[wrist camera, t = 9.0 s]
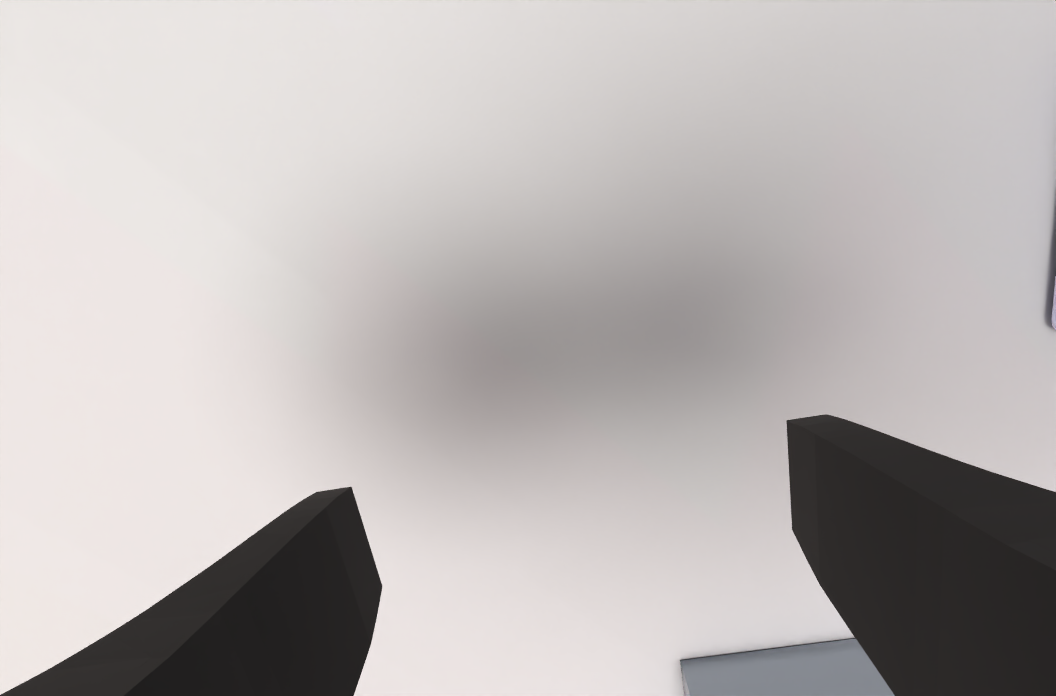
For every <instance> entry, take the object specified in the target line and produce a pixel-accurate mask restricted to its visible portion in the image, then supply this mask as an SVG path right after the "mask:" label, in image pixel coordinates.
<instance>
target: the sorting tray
mask: <svg viewBox="0 0 1056 696" xmlns="http://www.w3.org/2000/svg"><path fill="white" fill-rule="evenodd" d="M680 662H681V670H682V678H683V685H684V693H685V696H895V695H894V694H893V692H892V691H891V689H890V688H889V686H888V685H887V683H886V682H885V681H884V679H883V678H882V676H881V675H880V673H879V672H878V670H877V669H876V667H875V666H874V664H873V663H872V661H871V660H870V659H869V657H868V656H867V654H866V653H865V651H864V650H863V648H862V647H861V645H860V644H859V642H858V641H857V639H848V640H840V641H832V642H824V643H816V644H808V645H800V646H792V647H784V648H776V649H768V650H760V651H752V652H744V653H736V654H728V655H720V656H712V657H704V658H696V659H688V660H680Z"/></svg>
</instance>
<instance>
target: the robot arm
mask: <svg viewBox="0 0 1056 696" xmlns="http://www.w3.org/2000/svg"><path fill="white" fill-rule="evenodd" d="M1052 326H1053V327H1054V329H1055V330H1056V278H1055V289H1054V299H1053V310H1052ZM787 437H788V456H789V476H790V495H791V514H792V530H793V532H794V534H795V536H796V538H797V540H798V542H799V544H800V546H801V548H802V551H803V553H804V555H805V557H806V559H807V561H808V563H809V565H810V567H811V568H812V570H813V572H814V574H815V576H816V578H817V580H818V582H819V584H820V586H821V587H822V589H823V590H824V592H825V593H826V595H827V596H828V598H829V599H830V601H831V602H832V604H833V605H834V607H835V608H836V610H837V611H838V613H839V614H840V616H841V617H842V619H843V620H844V622H845V623H846V625H847V626H848V628H849V629H850V631H851V632H852V634H853V635H854V637H855V638H856V639H857V641H858V642H859V644H860V645H861V647H862V648H863V650H864V651H865V653H866V654H867V656H868V657H869V659H870V660H871V661H872V663H873V664H874V666H875V667H876V669H877V670H878V672H879V673H880V675H881V676H882V678H883V679H884V681H885V682H886V683H887V685H888V686H889V688H890V689H891V691H892V692H893V694H894V695H895V696H1056V492H1053V491H1050V490H1047V489H1043V488H1040V487H1037V486H1034V485H1031V484H1028V483H1024V482H1021V481H1018V480H1015V479H1012V478H1009V477H1005V476H1002V475H999V474H996V473H993V472H990V471H987V470H984V469H981V468H978V467H975V466H972V465H969V464H966V463H963V462H961V461H958V460H955V459H952V458H949V457H947V456H944V455H941V454H938V453H935V452H933V451H930V450H927V449H925V448H922V447H919V446H916V445H914V444H911V443H908V442H906V441H903V440H900V439H898V438H895V437H892V436H889V435H887V434H884V433H881V432H879V431H876V430H873V429H871V428H868V427H865V426H862V425H859V424H857V423H854V422H851V421H848V420H845V419H841V418H838V417H834V416H830V415H819V416H812V417H806V418H799V419H793V420H787ZM381 591H382V584H381V581H380V577H379V574H378V571H377V568H376V565H375V561H374V558H373V555H372V552H371V548H370V545H369V542H368V539H367V536H366V532H365V529H364V526H363V523H362V519H361V516H360V513H359V510H358V507H357V503H356V500H355V497H354V494H353V490H352V487H347V488H340V489H334V490H327V491H321V492H316V493H314V494H312V495H311V496H309V497H307V498H305V499H304V500H302V501H300V502H299V503H297V504H296V505H294V506H293V507H291V508H290V509H289V510H287V511H286V512H284V513H283V514H281V515H280V516H279V517H277V518H276V519H274V520H273V521H272V522H270V523H269V524H267V525H266V526H265V527H263V528H262V529H261V530H259V531H258V532H257V533H255V534H254V535H252V536H251V537H250V538H248V539H247V540H246V541H244V542H243V543H241V544H240V545H239V546H237V547H236V548H235V549H233V550H232V551H230V552H229V553H228V554H226V555H225V556H224V557H222V558H221V559H219V560H218V561H217V562H215V563H214V564H213V565H211V566H210V567H208V568H207V569H205V570H204V571H203V572H201V573H200V574H198V575H197V576H195V577H194V578H192V579H191V580H189V581H188V582H187V583H185V584H184V585H182V586H181V587H179V588H178V589H176V590H175V591H173V592H172V593H171V594H169V595H168V596H166V597H165V598H163V599H162V600H160V601H159V602H157V603H156V604H155V605H153V606H152V607H150V608H149V609H147V610H146V611H144V612H143V613H141V614H139V615H138V616H136V617H135V618H133V619H132V620H130V621H129V622H127V623H125V624H124V625H122V626H121V627H119V628H117V629H116V630H114V631H113V632H111V633H109V634H108V635H106V636H105V637H103V638H101V639H99V640H98V641H96V642H94V643H93V644H91V645H89V646H88V647H86V648H84V649H83V650H81V651H79V652H78V653H76V654H74V655H73V656H71V657H69V658H67V659H66V660H64V661H62V662H61V663H59V664H57V665H55V666H54V667H52V668H50V669H48V670H47V671H45V672H43V673H41V674H39V675H37V676H35V677H33V678H32V679H30V680H28V681H26V682H24V683H22V684H20V685H18V686H16V687H15V688H13V689H11V690H9V691H7V692H5V693H3V694H1V695H0V696H353V695H354V693H355V690H356V687H357V684H358V681H359V678H360V675H361V672H362V669H363V666H364V663H365V660H366V657H367V654H368V651H369V648H370V645H371V641H372V636H373V632H374V627H375V622H376V618H377V613H378V607H379V602H380V596H381Z"/></svg>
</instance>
